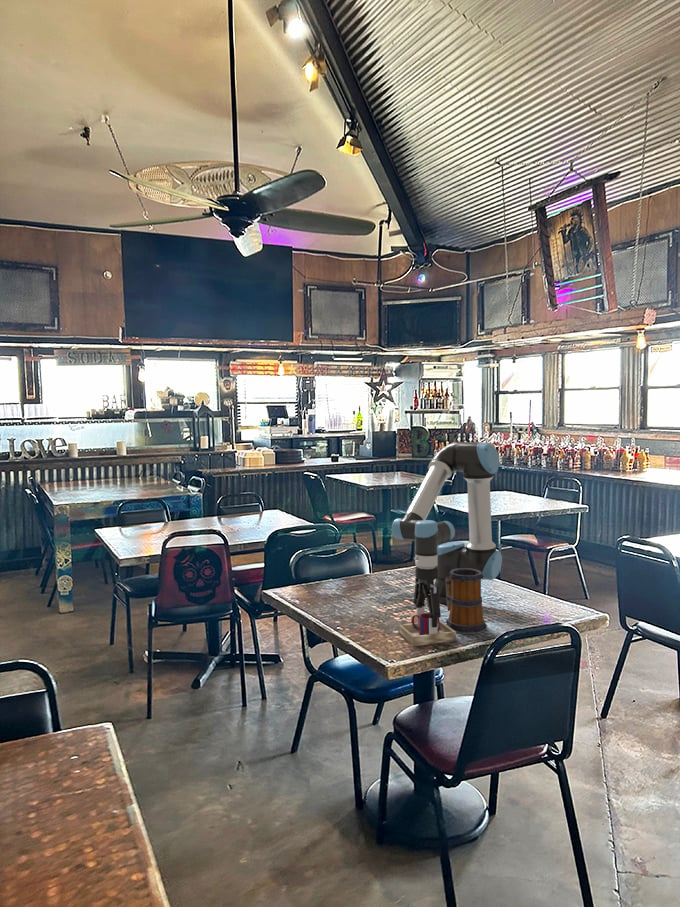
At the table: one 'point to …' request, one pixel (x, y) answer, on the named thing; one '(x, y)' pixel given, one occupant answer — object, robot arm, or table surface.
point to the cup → (424, 623)
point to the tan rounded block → (414, 617)
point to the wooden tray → (416, 639)
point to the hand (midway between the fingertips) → (426, 630)
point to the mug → (465, 601)
